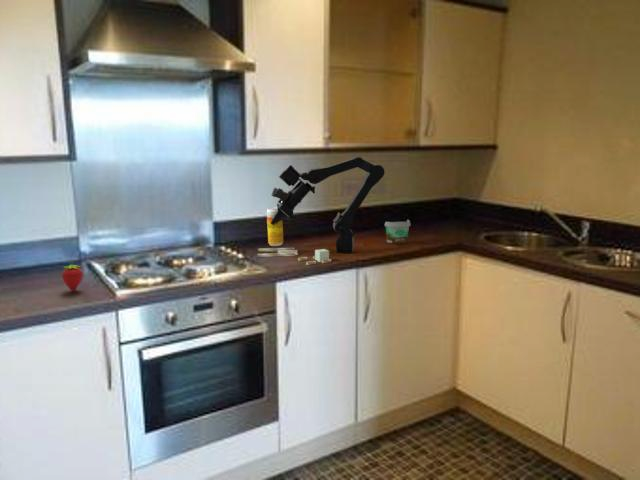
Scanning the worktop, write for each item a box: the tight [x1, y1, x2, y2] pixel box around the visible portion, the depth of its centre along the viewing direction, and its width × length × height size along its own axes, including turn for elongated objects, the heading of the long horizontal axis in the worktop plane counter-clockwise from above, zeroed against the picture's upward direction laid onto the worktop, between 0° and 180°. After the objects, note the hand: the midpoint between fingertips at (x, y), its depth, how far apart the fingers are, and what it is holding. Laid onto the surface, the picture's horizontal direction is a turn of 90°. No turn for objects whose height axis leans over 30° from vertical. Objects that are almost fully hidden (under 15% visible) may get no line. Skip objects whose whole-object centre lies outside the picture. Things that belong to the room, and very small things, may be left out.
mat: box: [277, 249, 299, 256], centre depth 226 cm, size 8×8×1 cm
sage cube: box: [314, 248, 330, 263], centre depth 213 cm, size 4×4×4 cm
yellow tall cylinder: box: [266, 206, 284, 247], centre depth 224 cm, size 6×6×15 cm
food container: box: [384, 219, 411, 245], centre depth 243 cm, size 12×6×10 cm, turn 114°
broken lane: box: [297, 255, 332, 266], centre depth 212 cm, size 10×8×1 cm
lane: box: [257, 247, 296, 258], centre depth 226 cm, size 15×11×1 cm
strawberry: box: [61, 262, 84, 293], centre depth 173 cm, size 6×8×10 cm
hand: (271, 222), depth 223 cm, fingers closed on yellow tall cylinder, 6 cm apart
